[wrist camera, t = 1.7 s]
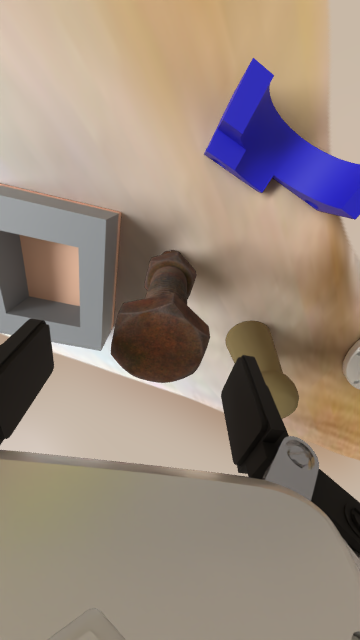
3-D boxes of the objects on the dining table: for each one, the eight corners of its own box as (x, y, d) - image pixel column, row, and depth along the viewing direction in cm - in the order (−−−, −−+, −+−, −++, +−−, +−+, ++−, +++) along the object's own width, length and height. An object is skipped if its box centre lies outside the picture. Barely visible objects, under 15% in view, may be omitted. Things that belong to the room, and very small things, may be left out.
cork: (278, 343, 31) (319, 415, 21) (239, 362, 33) (260, 436, 23) (258, 312, 28) (294, 379, 19) (217, 335, 30) (230, 405, 21)
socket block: (121, 212, 22) (106, 219, 18) (113, 326, 30) (101, 350, 25) (-6, 182, 21) (-54, 182, 17) (18, 308, 29) (-11, 330, 24)
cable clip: (203, 154, 20) (210, 146, 15) (234, 92, 18) (253, 57, 13) (304, 224, 23) (339, 237, 18) (341, 178, 21) (392, 178, 16)
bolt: (154, 289, 27) (124, 389, 14) (140, 247, 24) (89, 322, 11) (202, 279, 26) (217, 375, 13) (193, 234, 23) (202, 300, 11)
